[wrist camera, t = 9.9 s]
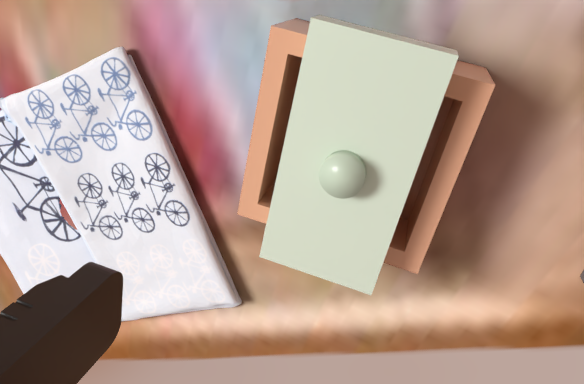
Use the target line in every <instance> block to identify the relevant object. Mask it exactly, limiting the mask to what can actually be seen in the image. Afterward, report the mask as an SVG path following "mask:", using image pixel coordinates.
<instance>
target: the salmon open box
mask: <svg viewBox="0 0 584 384" xmlns="http://www.w3.org/2000/svg"><path fill="white" fill-rule="evenodd" d="M309 24H310V22H309V21H305V20H301V19H298V18H295V19H292V20H289V21H285V22H282V23H279V24H275V25H272V26H271V30H270V35H269V41H268V46H267V52H266V58H265V63H264V69H263V74H262V80H261V85H260V91H259V96H258V102H257V107H256V113H255V119H254V124H253V130H252V135H251V141H250V146H249V152H248V157H247V163H246V169H245V174H244V180H243V185H242V191H241V196H240V202H239V207H238V213H237V214H238V215H241V216H244V217H247V218H250V219H254V220H257V221H260V222H263V223H266V224H267V219H268V214H269V210H270V205H271V201H272V196H273V191H274V187H275V182H276V177H277V173H278V168H279V163H280V159H281V154H282V150H283V145H284V140H285V136H286V131H287V126H288V122H289V117H290V112H291V108H292V103H293V99H294V94H295V89H296V85H297V80H298V75H299V71H300V66H301V62H302V57H303V52H304V48H305V43H306V38H307V34H308V29H309ZM494 87H495V84H494V82H493V80H492V78H491V76H490V75H489V73H488V71H487V69H486V67H482V66H478V65H474V64H470V63H466V62H463V61H459V60H457V62H456V65H455V68H454V70H453V73H452V76H451V79H450V81H449V84H448V87H447V90H446V92H445V95H444V98H443V101H442V103H441V106H440V109H439V111H438V114H437V117H436V120H435V122H434V125H433V128H432V131H431V133H430V136H429V139H428V142H427V144H426V147H425V150H424V152H423V155H422V158H421V161H420V163H419V166H418V169H417V172H416V174H415V177H414V180H413V183H412V185H411V188H410V191H409V193H408V196H407V199H406V202H405V204H404V207H403V210H402V213H401V215H400V218H399V221H398V224H397V226H396V229H395V232H394V234H393V237H392V240H391V243H390V245H389V248H388V251H387V254H386V256H385V259H384V262H383V263H386V264H389V265H392V266H395V267H398V268H401V269H404V270H407V271H410V272H413V273H416V274H418V272H419V269H420V267H421V264H422V262H423V259H424V257H425V255H426V252H427V250H428V247H429V245H430V243H431V240H432V238H433V235H434V233H435V230H436V228H437V226H438V223H439V221H440V218H441V216H442V213H443V211H444V209H445V206H446V204H447V201H448V199H449V196H450V194H451V192H452V189H453V187H454V184H455V182H456V179H457V177H458V175H459V172H460V170H461V167H462V165H463V162H464V160H465V158H466V155H467V153H468V150H469V148H470V146H471V143H472V141H473V138H474V136H475V133H476V131H477V129H478V126H479V124H480V121H481V119H482V116H483V114H484V112H485V109H486V107H487V104H488V102H489V99H490V97H491V95H492V92H493V90H494Z"/></svg>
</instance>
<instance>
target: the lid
mask: <svg viewBox="0 0 584 384" xmlns="http://www.w3.org/2000/svg"><path fill="white" fill-rule="evenodd" d="M458 57H459V55H458V52H457V50H454V49H450V48H446V47H442V46H439V45H435V44H431V43H427V42H423V41H419V40H415V39H411V38H407V37H404V36H400V35H396V34H392V33H388V32H384V31H380V30H376V29H373V28H369V27H365V26H361V25H357V24H353V23H349V22H345V21H342V20H338V19H334V18H330V17H326V16H322V15H317V16H314V17H311V20H310V24H309V29H308V34H307V38H306V43H305V48H304V52H303V57H302V62H301V66H300V71H299V75H298V80H297V85H296V89H295V94H294V99H293V103H292V108H291V112H290V117H289V122H288V126H287V131H286V136H285V140H284V145H283V150H282V154H281V159H280V163H279V168H278V173H277V177H276V182H275V187H274V191H273V196H272V201H271V205H270V210H269V214H268V219H267V224H266V228H265V233H264V238H263V242H262V247H261V251H260V256H259V257H261V258H264V259H267V260H270V261H273V262H276V263H279V264H282V265H285V266H287V267H290V268H293V269H296V270H299V271H302V272H305V273H308V274H311V275H314V276H316V277H319V278H322V279H325V280H328V281H331V282H334V283H337V284H340V285H343V286H346V287H348V288H351V289H354V290H357V291H360V292H363V293H366V294H369V295H372V292H373V289H374V286H375V284H376V281H377V278H378V275H379V273H380V270H381V267H382V265H383V262H384V259H385V256H386V254H387V251H388V248H389V245H390V243H391V240H392V237H393V234H394V232H395V229H396V226H397V224H398V221H399V218H400V215H401V213H402V210H403V207H404V204H405V202H406V199H407V196H408V193H409V191H410V188H411V185H412V183H413V180H414V177H415V174H416V172H417V169H418V166H419V163H420V161H421V158H422V155H423V152H424V150H425V147H426V144H427V142H428V139H429V136H430V133H431V131H432V128H433V125H434V122H435V120H436V117H437V114H438V111H439V109H440V106H441V103H442V101H443V98H444V95H445V92H446V90H447V87H448V84H449V81H450V79H451V76H452V73H453V70H454V68H455V65H456V62H457V60H458Z"/></svg>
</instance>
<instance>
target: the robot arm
mask: <svg viewBox="0 0 584 384" xmlns="http://www.w3.org/2000/svg"><path fill="white" fill-rule="evenodd" d="M122 296H123V275H122V273H121V272H119V271H116V270H113V269H110V268H108V267H105V266H102V265H100V264H97V263H94V262H88V263H86V264H85V265H83V266H82V267H81V268H80V269H78V270H77V271H76V272H75V273H73V274H72V275H71V276H70V277H65V276H63V275H59V276H57V277H54V278H52V279H49V280H47V281H44V282H42V283H39V284H37V285H35V286H34V287H33V288H31V289H30V290H29V291H28V292H26V293H25V294H24V295H22V296H21V297H20V298H18V299H17V302H16V303H14V302H13V303H12V304H10V305H9V306H8V307H7V308H5V309H4V310H3V311H1V314H0V384H77V383H78V382H79V380H80V379H81V378H82V377H83V376H84V375H85V374H86V372H88V370H89V369H90V368H91V367H92V366H93V365H94V364H95V363H96V361H97V360H98V359H99V358H100V357H101V356H102V355H103V354H104V352H105V351H106V350H107V349H108V348H109V347H110V346H111V344H112V343H113V341H114V339H115V338H116V336H117V333H118V331H119V328H120V325H121V317H122Z"/></svg>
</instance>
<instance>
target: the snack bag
mask: <svg viewBox="0 0 584 384" xmlns="http://www.w3.org/2000/svg"><path fill="white" fill-rule="evenodd" d="M0 108H1V109H2V110H1V111H0V254H1V256H2V257H3V259H4V260H5V262H6V264H7V265H8V267H9V269H10V270H11V272H12V274H13V276H14V277H15V279H16V281H17V283H18V285H19V287H20V288H21V290H22V292H23V293H24V294H25V293H26V292H28V291H29V290H30V289H31V288H33V287H34V286H35V285H37V284H39V283H42V282H44V281H47V280H49V279H52V278H54V277H57V276H59V275H63V276H65V277H70V276H71V275H72V274H73V273H75V272H76V271H77V270H78V269H80V268H81V267H82V266H83V265H85V264H86V263H88V262H94V263H97V264H100V265H102V266H105V267H108V268H110V269H113V270H116V271H119V272H121V273H122V275H123V296H122V317H121V321H129V320H138V319H141V318H147V317H154V316H161V315H168V314H176V313H184V312H191V311H199V310H208V309H216V308H230V307H235V306H238V305H240V304H241V303H242V300H241V298H240V296H239V294H238V292H237V290H236V288H235V285H234V283H233V280H232V278H231V276H230V273H229V271H228V269H227V266H226V264H225V262H224V260H223V258H222V255H221V253H220V251H219V249H218V246H217V244H216V242H215V239H214V237H213V235H212V233H211V231H210V228H209V226H208V224H207V222H206V220H205V218H204V216H203V213H202V211H201V209H200V207H199V205H198V203H197V201H196V198H195V196H194V194H193V191H192V189H191V187H190V184H189V182H188V180H187V178H186V176H185V173H184V171H183V169H182V167H181V164H180V162H179V160H178V157H177V155H176V153H175V150H174V148H173V146H172V144H171V142H170V139H169V137H168V134H167V132H166V130H165V128H164V125H163V123H162V121H161V118H160V116H159V114H158V112H157V110H156V107H155V105H154V103H153V101H152V99H151V97H150V94H149V92H148V90H147V89H146V86H145V84H144V82H143V80H142V78H141V76H140V74H139V72H138V70H137V67H136V65H135V63H134V61H133V58H132V56H131V55H127V53H126V51H125V48H124V47H117V48H114V49H112V50H110V51H108V52H107V53H105V54H103V55H101V56H98V57H96V58H95V59H93V60H91V61H89V62H87V63H85V64H83V65H82V66H80V67H78V68H76V69H74V70H72V71H70V72H68V73H65V74H63V75H61V76H59V77H57V78H54V79H52V80H50V81H47V82H45V83H42V84H40V85H37V86H35V87H32V88H30V89H27V90H25V91H22V92H20V93H15V94H12V95H10V96H7V97H6V98H0ZM59 197H60V198H59ZM59 199H61V201H62V203H63V204H64V206H65V208H66V210H67V211H68V213H69V215H70V217H71V219H72V220H73V222H74V224H75V226H76V228H77V229H78V231H77V230H75V229H74V228H73V227H72V226H70V225H69V224H68V223H67V221H66V220H65V219H64V217H62V216H61V213H60V209H61V204H59V202H60V200H59Z"/></svg>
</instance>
